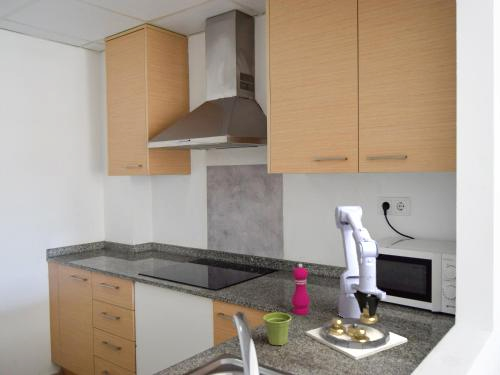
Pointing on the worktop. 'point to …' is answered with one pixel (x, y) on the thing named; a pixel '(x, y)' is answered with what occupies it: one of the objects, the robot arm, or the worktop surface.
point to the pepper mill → (300, 291)
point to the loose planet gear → (367, 316)
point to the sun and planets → (353, 330)
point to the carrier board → (352, 353)
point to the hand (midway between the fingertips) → (367, 314)
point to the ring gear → (357, 344)
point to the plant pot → (277, 327)
